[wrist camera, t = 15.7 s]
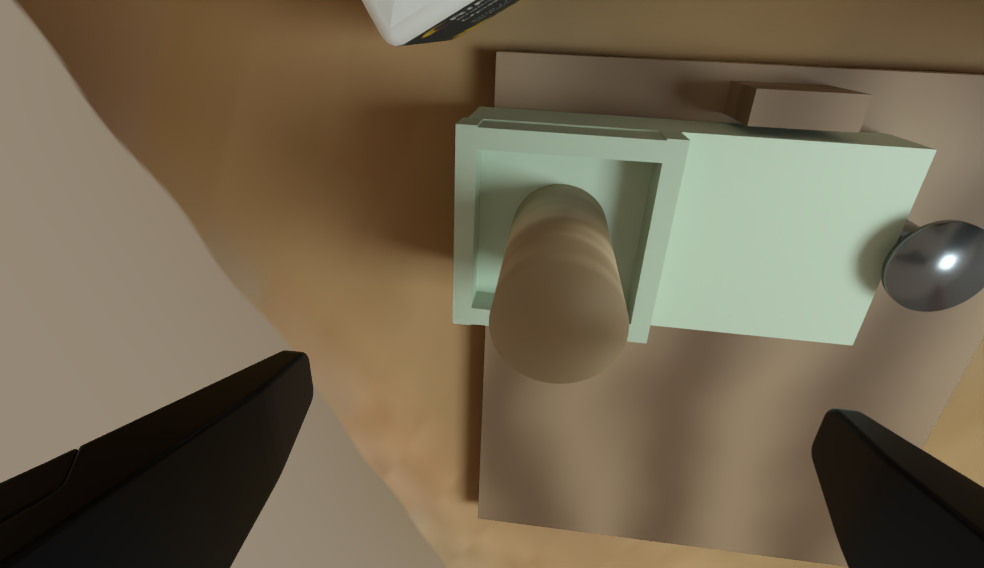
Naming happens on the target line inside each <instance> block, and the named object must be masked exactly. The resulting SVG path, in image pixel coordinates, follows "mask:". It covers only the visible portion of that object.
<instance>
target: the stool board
mask: <svg viewBox="0 0 984 568" xmlns="http://www.w3.org/2000/svg"><path fill="white" fill-rule="evenodd" d="M731 81H749V82H768V83H788V84H807V85H826V86H835V87H839V88H844V89H848V90H853V91H858V92H862V93H867V94H871V95H872V97H871V100H870V103H869V106H868V109H867V112H866V114H865V117H864V120H863V123H862V126H861V129H860V132H871V133H886V134H891V135H894V136H897V137H900V138H903V139H906V140H909V141H912V142H915V143H918V144H921V145H924V146H927V147H930V148H933V149H937V151H936V153H935V155H934V158H933V160H932V162H931V165H930V167H929V169H928V172H927V174H926V176H925V179H924V181H923V183H922V186H921V188H920V190H919V193H918V195H917V197H916V200H915V202H914V204H913V207H912V209H911V211H910V213H909V216H908V218H907V219H908V220H909V221H911V222H913V223H915V224H917V225H918V226H920V227H921V226H923V225H926V224H929V223H932V222H936V221H941V220H961V221H965V222H969V223H971V224H974V225H976V226H978V227H980V228H982V229H984V74H972V73H952V72H931V71H911V70H890V69H870V68H849V67H829V66H808V65H787V64H767V63H746V62H726V61H705V60H685V59H664V58H644V57H623V56H603V55H582V54H562V53H541V52H521V51H497V52H496V74H495V99H494V107H495V108H510V109H525V110H540V111H555V112H570V113H585V114H600V115H615V116H631V117H646V118H661V119H676V120H691V121H706V122H721V123H736V124H742V123H741V122H739V121H737V120H735V119H733V118H731V117H729V116H727V115H726V114H724V110H725V106H726V101H727V97H728V93H729V88H730V84H731ZM983 337H984V288H983V289H982V290H981V291H979V292H978V293H977V294H976V295H974V296H973V297H972V298H970V299H969V300H967V301H965V302H963V303H961V304H959V305H957V306H954V307H951V308H949V309H945V310H940V311H933V312H920V311H914V310H910V309H908V308H905V307H903V306H901V305H900V304H898V303H897V302H896V301H895V300H894V299H892V298H891V297H890V296H889V295H888V294H887V293H886V291H885V289H884V288H883V285H882V280H881V281H880V283H879V285H878V288H877V290H876V292H875V295H874V297H873V299H872V302H871V304H870V306H869V309H868V311H867V313H866V316H865V318H864V320H863V323H862V325H861V327H860V330H859V332H858V334H857V337H856V339H855V341H854V343H853V346H852V345H842V344H832V343H822V342H812V341H802V340H792V339H782V338H772V337H762V336H752V335H742V334H732V333H723V332H713V331H703V330H693V329H683V328H673V327H663V326H653V325H650V329H649V334H648V339H647V343H637V342H627V341H626V344H625V346H624V348H623V350H622V352H621V353H620V355H619V357H618V358H617V359H616V360H615V361H614V362H613V363H612V364H611V365H610V366H609V367H608V368H607V369H605V370H604V371H602V372H601V373H599V374H597V375H596V376H594V377H591V378H589V379H586V380H583V381H579V382H575V383H568V384H552V383H545V382H541V381H537V380H534V379H531V378H529V377H526V376H524V375H522V374H521V373H519V372H517V371H516V370H514V369H513V368H512V367H510V366H509V365H508V364H507V363H506V362H505V361H504V360H503V359H502V358H501V356H500V355H499V353H498V352H497V350H496V348H495V346H494V345H493V342H492V339H491V336H490V331H489V326H486V327H485V352H484V378H483V403H482V428H481V454H480V479H479V504H478V518H480V519H487V520H495V521H503V522H510V523H518V524H526V525H533V526H541V527H549V528H556V529H564V530H571V531H579V532H587V533H594V534H602V535H610V536H617V537H625V538H633V539H640V540H648V541H656V542H663V543H671V544H678V545H686V546H694V547H701V548H709V549H717V550H724V551H732V552H740V553H747V554H755V555H763V556H770V557H778V558H785V559H793V560H801V561H808V562H816V563H824V564H831V565H839V566H847V567H848V565H847V563H846V560H845V558H844V555H843V553H842V550H841V548H840V545H839V542H838V540H837V537H836V534H835V531H834V528H833V524H832V521H831V518H830V515H829V512H828V509H827V505H826V502H825V499H824V496H823V493H822V489H821V486H820V483H819V480H818V477H817V473H816V470H815V467H814V464H813V461H812V455H811V449H812V444H813V441H814V439H815V436H816V434H817V432H818V429H819V427H820V425H821V422H822V420H823V418H824V415H825V414H826V412H827V411H828V410H829V409H832V408H840V409H850V410H856V411H859V412H861V413H863V414H865V415H866V416H868V417H870V418H871V419H873V420H874V421H876V422H878V423H879V424H881V425H883V426H884V427H886V428H888V429H889V430H891V431H892V432H894V433H896V434H897V435H899V436H901V437H902V438H904V439H905V440H907V441H909V442H910V443H912V444H914V445H915V446H917V447H918V448H920V449H922V447H923V446H924V444H925V442H926V440H927V438H928V437H929V435H930V433H931V431H932V429H933V428H934V426H935V424H936V422H937V420H938V419H939V417H940V415H941V413H942V411H943V409H944V408H945V406H946V404H947V402H948V400H949V399H950V397H951V395H952V393H953V391H954V390H955V388H956V386H957V384H958V382H959V380H960V379H961V377H962V375H963V373H964V371H965V370H966V368H967V366H968V364H969V362H970V361H971V359H972V357H973V355H974V353H975V352H976V350H977V348H978V346H979V344H980V342H981V341H982V339H983Z"/></svg>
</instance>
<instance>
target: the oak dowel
mask: <svg viewBox="0 0 984 568" xmlns="http://www.w3.org/2000/svg"><path fill="white" fill-rule="evenodd" d="M489 331H490V336H491V339H492V342H493V345H494V346H495V348H496V350H497V352H498V353H499V355H500V356H501V358H502V359H503V360H504V361H505V362H506V363H507V364H508V365H509V366H510V367H512V368H513V369H514V370H516V371H517V372H519V373H521V374H522V375H524V376H526V377H529V378H531V379H534V380H537V381H541V382H545V383H552V384H568V383H575V382H579V381H583V380H586V379H589V378H591V377H594V376H596V375H597V374H599V373H601V372H602V371H604V370H605V369H607V368H608V367H609V366H610V365H611V364H612V363H613V362H614V361H615V360H616V359H617V358H618V357H619V355H620V353H621V352H622V350H623V348H624V346H625V344H626V341H627V338H628V333H629V316H628V312H627V307H626V303H625V299H624V294H623V290H622V286H621V281H620V277H619V273H618V268H617V264H616V260H615V255H614V251H613V247H612V242H611V238H610V234H609V229H608V225H607V221H606V216H605V214H604V211H603V209H602V207H601V205H600V204H599V203H598V201H597V200H596V199H595V198H594V197H593V196H592V195H591V194H589V193H588V192H586V191H585V190H583V189H581V188H578V187H576V186H572V185H566V184H554V185H549V186H545V187H542V188H540V189H538V190H536V191H534V192H532V193H531V194H530V195H528V196H527V197H526V198H525V199H524V200H523V201H522V203H521V204H520V205H519V207H518V209H517V211H516V213H515V215H514V219H513V223H512V227H511V231H510V235H509V239H508V243H507V247H506V251H505V255H504V258H503V262H502V266H501V270H500V274H499V278H498V282H497V286H496V290H495V294H494V298H493V302H492V306H491V310H490V315H489Z"/></svg>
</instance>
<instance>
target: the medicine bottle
mask: <svg viewBox="0 0 984 568" xmlns="http://www.w3.org/2000/svg"><path fill="white" fill-rule="evenodd" d="M517 1H519V0H362V2H363V4H364V6H365V8H366V9H367V11H368V13H369V15H370V17H371V19H372V20H373V22H374V24H375V26H376V28H377V29H378V31H379V33H380V35H381V36H382V38H383V39H384V40H385V41H386V42H387V43H388V44H390V45H393V46H404V45H412V44H421V43H430V42H438V41H447V40H452V39H456V38H458V37H459V36H461V35H463V34H464V33H466V32H468V31H469V30H471V29H472V28H474V27H476V26H477V25H479V24H481V23H482V22H484V21H486V20H487V19H489V18H491V17H492V16H494V15H496V14H497V13H499V12H501V11H502V10H504V9H506V8H507V7H509V6H511V5H512V4H514V3H516V2H517Z"/></svg>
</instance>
